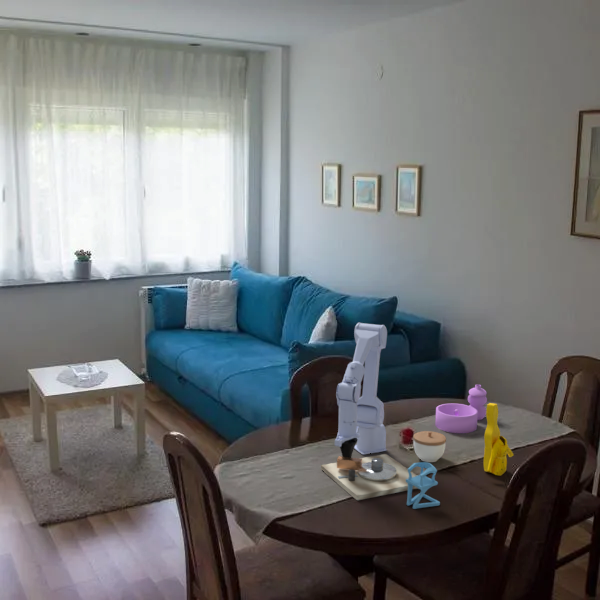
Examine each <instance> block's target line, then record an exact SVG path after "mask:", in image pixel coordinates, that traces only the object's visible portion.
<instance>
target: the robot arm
mask: <svg viewBox="0 0 600 600" xmlns="http://www.w3.org/2000/svg"><path fill="white" fill-rule="evenodd" d="M353 332H354V333H353V334H354V335H353V336H354V340H355V344H356V346H355V350H354V354H353V358H352V361H350V362H349V363H348V364H347V367H346V369H345V373H344V375H343V379H342V381H341V382H340V383H338V384H337V386H336V393H335V396H336V405H337V406H338V426H337V427H338V428H337V429H338V430H337V431H338V432H337V435H336V438H335V439H334V447H339V449H340V451H341V455H342V457H350V458H352V457H353V453H354V452H353V451H354V450H356V451H357V452H358V453H360V454H361V455H362V456H363V455H370V453H371V454H377V453H381V452H387V448H386V447H387V445H386V443H387V430H386V427H385V425H384V424H383V423H384V420H385V419H384V418H385V410H384V407H385V405H384V402H383V401H381V399H380V398H379V397H378V396H377V393H378V383H379V382H378V381H379V370H380V360H381V359H380V358H381V352H382V350H383V349H386V346H387V338H388V330H387V327H386V326H385V324H374V323H366V322H365V323H363V322H357V323H356V325H355V326H354V331H353ZM362 381H363V384H362ZM361 384H362V385H361ZM361 389H362V394H361Z"/></svg>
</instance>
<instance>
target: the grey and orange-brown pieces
mask: <svg viewBox="0 0 600 600" xmlns="http://www.w3.org/2000/svg"><path fill="white" fill-rule="evenodd" d="M336 462H337V468H341V469H349V470H350V469H354V470H357V471H358V475H359V476H360V477H362V478H364V479H367V480H371V481H387V480H391V479H393V478H395V477H396V468H395V467H394V466H392V465H390V464H387V463H383V460H382V459H380V458H374V459H372V461H371V462H367V463H363V464H362V459H359V458H358V457H351V458H350V457H342V456H340V455H338V457H337V458H336Z"/></svg>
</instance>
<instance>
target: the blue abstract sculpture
mask: <svg viewBox="0 0 600 600" xmlns="http://www.w3.org/2000/svg"><path fill="white" fill-rule="evenodd" d="M416 467H419V468H420V473H419V474H418V475H417V476H415V477H412V474H411V472H412V470H413V469H414V468H416ZM407 469H408V473H409V478H408V479H406V482H407V483H408V490H407V497H406V498H407V499H406V505H407V506H412V509H414V510H416V509H422V508H429V507H437V506H440V505H441V502H440V501H439V500H437V499H435V498H433V497H431V496H429V495H427V494H425V493H426V492H427V491H428V490H429V489H431V488H432V487H434V486H438V484H439V482H438V481H437V480H436V479H435V478H436V474H437V472H438V469H437V468H436V467H435V466H434V465H433V464H432V463H431V462H424V461H420V462H413V463H412V464H411V465H410V466H409V467H408V468H407ZM424 469H425V470H424ZM429 474H432V475H431V478H430V477H428V476H427V475H429ZM413 485H414V486H415V487H417V489H418V490H420V493H418V494H416V495H415V496H413V497H412V494H413V489H412V488H413ZM422 498H423V499H426V500H428V501H430V502H423V503H422V502H421V500H422ZM420 502H421V503H420Z"/></svg>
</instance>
